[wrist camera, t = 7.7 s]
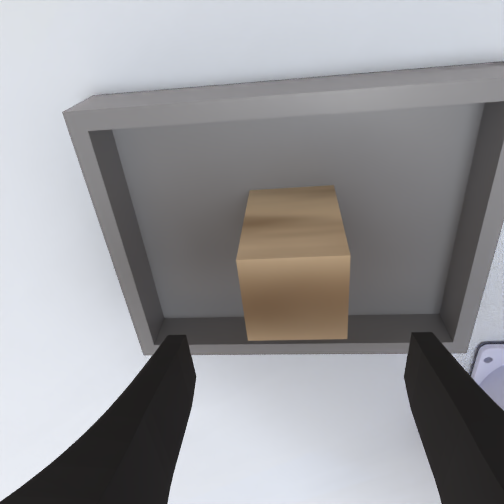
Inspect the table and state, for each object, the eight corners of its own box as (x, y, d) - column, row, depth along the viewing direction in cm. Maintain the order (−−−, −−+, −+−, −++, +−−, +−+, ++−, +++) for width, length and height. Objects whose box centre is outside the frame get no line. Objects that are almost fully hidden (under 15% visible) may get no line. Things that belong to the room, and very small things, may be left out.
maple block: (333, 256, 21) (347, 339, 16) (257, 259, 21) (247, 340, 16) (333, 185, 19) (350, 255, 14) (249, 190, 19) (236, 260, 14)
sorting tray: (447, 314, 24) (466, 353, 21) (157, 319, 26) (143, 355, 23) (505, 61, 16) (544, 74, 14) (93, 95, 18) (62, 112, 16)
